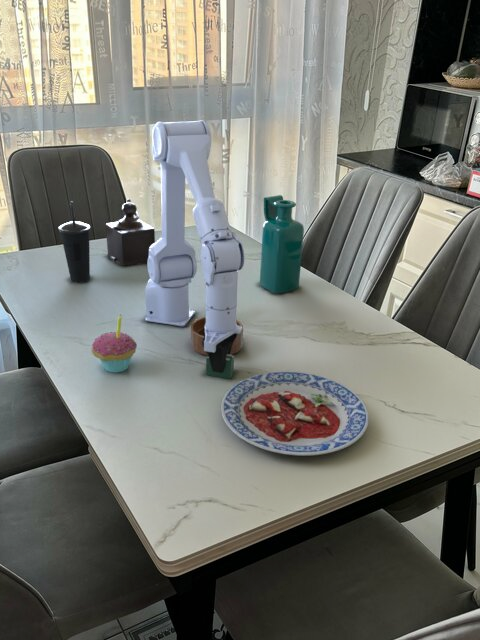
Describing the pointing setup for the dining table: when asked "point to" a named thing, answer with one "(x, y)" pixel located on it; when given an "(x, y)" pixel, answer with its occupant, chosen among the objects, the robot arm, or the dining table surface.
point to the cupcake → (114, 349)
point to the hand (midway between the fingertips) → (220, 367)
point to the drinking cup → (76, 248)
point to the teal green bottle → (280, 246)
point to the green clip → (227, 370)
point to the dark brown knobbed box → (129, 238)
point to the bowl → (198, 335)
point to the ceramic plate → (294, 413)
